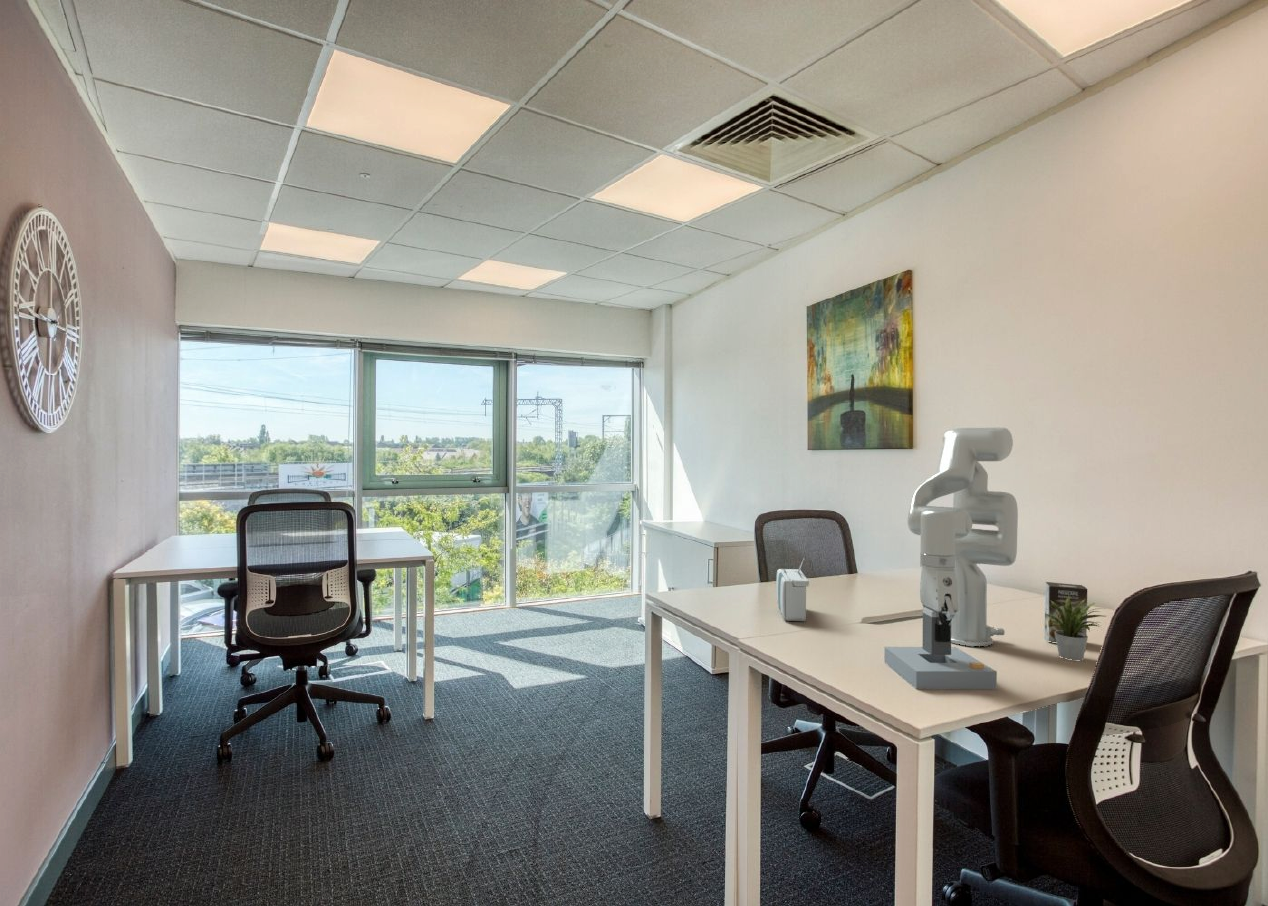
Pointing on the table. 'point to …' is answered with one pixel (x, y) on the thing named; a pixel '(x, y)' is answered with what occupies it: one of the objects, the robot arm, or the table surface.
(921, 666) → the socket
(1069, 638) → the house plant
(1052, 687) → the table surface
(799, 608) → the stereo radio cassette player
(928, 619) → the plug
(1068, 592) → the coffee box
